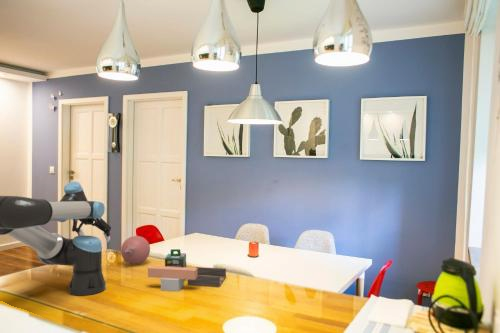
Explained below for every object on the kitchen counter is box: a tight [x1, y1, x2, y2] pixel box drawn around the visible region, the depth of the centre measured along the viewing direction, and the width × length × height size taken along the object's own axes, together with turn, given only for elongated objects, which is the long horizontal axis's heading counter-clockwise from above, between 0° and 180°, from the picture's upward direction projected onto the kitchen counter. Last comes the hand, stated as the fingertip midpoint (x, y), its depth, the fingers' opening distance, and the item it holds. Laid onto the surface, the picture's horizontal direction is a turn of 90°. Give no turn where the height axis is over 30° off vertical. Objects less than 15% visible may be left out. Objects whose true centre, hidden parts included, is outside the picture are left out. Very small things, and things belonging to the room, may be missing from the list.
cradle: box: [187, 266, 227, 288], centre depth 187 cm, size 14×15×4 cm
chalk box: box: [164, 248, 187, 281], centre depth 191 cm, size 9×9×15 cm
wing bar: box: [147, 265, 198, 280], centre depth 177 cm, size 4×22×4 cm, turn 82°
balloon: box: [120, 235, 151, 265], centre depth 215 cm, size 15×20×15 cm
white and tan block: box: [160, 278, 185, 292], centre depth 177 cm, size 8×8×5 cm
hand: (96, 240), depth 204 cm, fingers open, 13 cm apart
